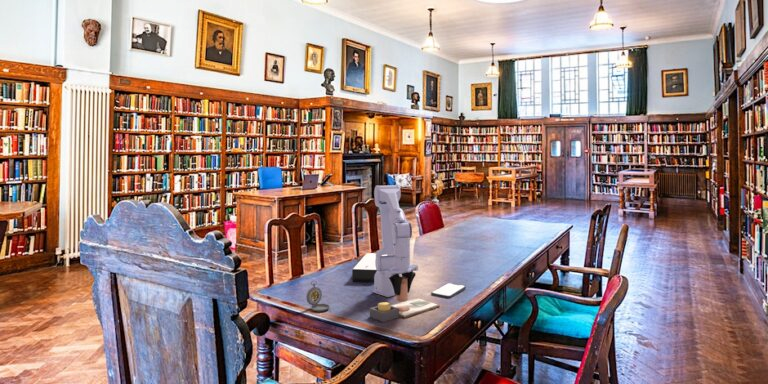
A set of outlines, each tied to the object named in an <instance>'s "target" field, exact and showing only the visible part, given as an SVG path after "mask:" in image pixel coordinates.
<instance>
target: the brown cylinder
mask: <svg viewBox="0 0 768 384" xmlns="http://www.w3.org/2000/svg"><path fill="white" fill-rule="evenodd" d="M408 294H409V293H408V284H407V277H403V279H402V282H401V293H400V295H395V296H396V302H399V303H401V302H405V301H408V300H409V299H408V296H409V295H408Z"/></svg>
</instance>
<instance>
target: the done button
mask: <svg viewBox="0 0 768 384" xmlns="http://www.w3.org/2000/svg"><path fill="white" fill-rule="evenodd" d="M377 306H378V310H379V311H382V312H386V311H389V310H391V303H390V302H386V301H385V302H379V303H377Z"/></svg>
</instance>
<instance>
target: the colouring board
mask: <svg viewBox="0 0 768 384" xmlns="http://www.w3.org/2000/svg"><path fill="white" fill-rule="evenodd" d="M391 306H393V307H396V308H399V317H398V318H401V319H408V318H411V317H414V316H417V315H420V314H423V313H425V312H428V311H432V310H434V309H437V308H440V304H437V303H434V302H431V301H427V300H425V299H422V298H418V297H414V298H411V299H408V300H407V301H405V302H399V303H394V304H392V305H391Z"/></svg>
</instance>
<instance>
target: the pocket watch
mask: <svg viewBox="0 0 768 384" xmlns="http://www.w3.org/2000/svg"><path fill="white" fill-rule="evenodd" d="M310 285H312V287H311V288H309V290H308V291H307V293H306V296H305V297H306V301H307V303H308V304H309V305H311V306H310V307H311V308H310V309H311V311H314V312H326V311H328V310H329V309H330V305H329V304H326V303H320V301H321V299H322V296H323V295H322V294H323V293H322V289H321V288H319V287H318V286H316V285H317V281H316V280H311V282H310Z"/></svg>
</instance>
